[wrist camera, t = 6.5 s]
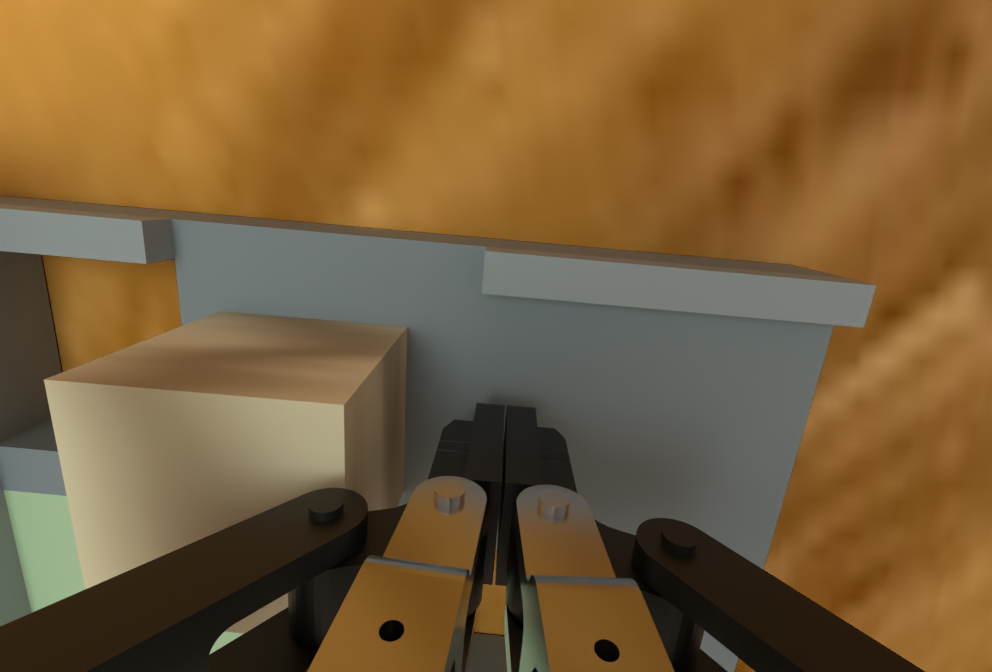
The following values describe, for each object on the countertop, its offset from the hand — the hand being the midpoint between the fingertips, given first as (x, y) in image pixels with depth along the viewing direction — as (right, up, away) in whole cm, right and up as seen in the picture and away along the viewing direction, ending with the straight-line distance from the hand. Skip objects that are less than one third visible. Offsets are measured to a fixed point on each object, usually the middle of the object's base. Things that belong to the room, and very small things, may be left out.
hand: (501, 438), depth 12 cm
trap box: (-4, -2, +4) cm, 6 cm away
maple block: (-5, +1, +1) cm, 5 cm away
